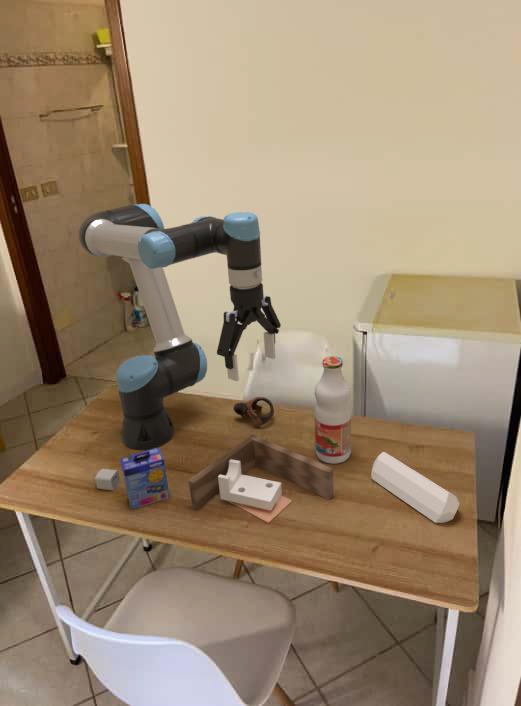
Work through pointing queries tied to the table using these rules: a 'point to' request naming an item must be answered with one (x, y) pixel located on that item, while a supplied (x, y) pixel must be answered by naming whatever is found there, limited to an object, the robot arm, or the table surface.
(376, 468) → the crystal
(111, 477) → the usb wall charger
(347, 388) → the fruit juice
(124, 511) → the table surface
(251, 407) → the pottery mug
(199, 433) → the table surface
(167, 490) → the ink cartridge box
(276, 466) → the corner walls
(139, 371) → the robot arm
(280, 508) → the pad
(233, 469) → the bracket
